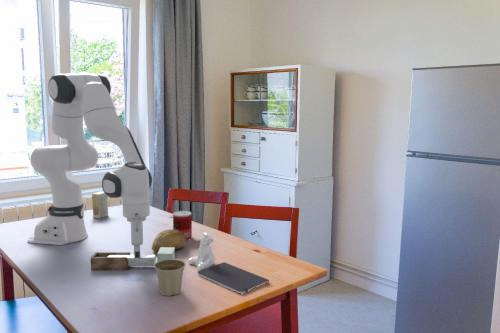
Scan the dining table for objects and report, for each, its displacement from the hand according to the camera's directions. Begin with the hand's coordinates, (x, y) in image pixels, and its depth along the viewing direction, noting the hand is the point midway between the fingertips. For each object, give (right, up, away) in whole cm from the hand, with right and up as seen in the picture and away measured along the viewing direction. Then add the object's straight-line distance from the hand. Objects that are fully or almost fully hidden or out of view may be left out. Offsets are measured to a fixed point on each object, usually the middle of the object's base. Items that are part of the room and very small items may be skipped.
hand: (137, 249), depth 147 cm
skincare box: (-35, +3, +64) cm, 73 cm away
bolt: (-2, -5, +1) cm, 6 cm away
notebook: (+33, -9, -7) cm, 35 cm away
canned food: (+10, -2, +33) cm, 35 cm away
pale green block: (+9, -7, +1) cm, 12 cm away
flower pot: (+15, -10, -17) cm, 25 cm away
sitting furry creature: (+23, -7, +4) cm, 24 cm away
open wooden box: (-9, -6, +1) cm, 11 cm away
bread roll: (+8, -4, +19) cm, 21 cm away
